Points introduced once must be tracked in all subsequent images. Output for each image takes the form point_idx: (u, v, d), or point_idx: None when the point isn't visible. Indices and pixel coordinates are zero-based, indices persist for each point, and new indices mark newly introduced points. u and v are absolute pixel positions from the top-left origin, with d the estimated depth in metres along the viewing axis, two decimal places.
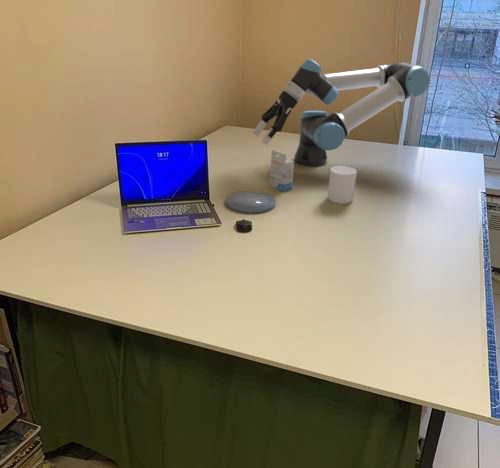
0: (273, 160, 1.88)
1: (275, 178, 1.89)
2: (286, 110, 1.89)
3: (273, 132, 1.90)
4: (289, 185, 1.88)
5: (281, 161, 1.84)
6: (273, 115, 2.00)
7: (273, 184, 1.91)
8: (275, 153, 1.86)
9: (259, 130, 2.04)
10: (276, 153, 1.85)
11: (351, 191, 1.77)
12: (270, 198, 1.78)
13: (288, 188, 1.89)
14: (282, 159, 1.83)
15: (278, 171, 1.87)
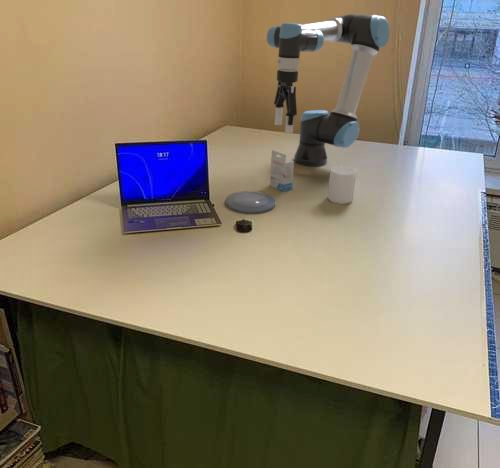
0: (273, 160, 1.88)
1: (275, 178, 1.89)
2: (290, 90, 1.69)
3: (291, 118, 1.72)
4: (289, 185, 1.88)
5: (281, 161, 1.84)
6: (283, 97, 1.81)
7: (273, 184, 1.91)
8: (275, 153, 1.86)
9: (279, 118, 1.87)
10: (276, 153, 1.85)
11: (351, 191, 1.77)
12: (270, 198, 1.78)
13: (288, 188, 1.89)
14: (282, 160, 1.83)
15: (278, 171, 1.87)
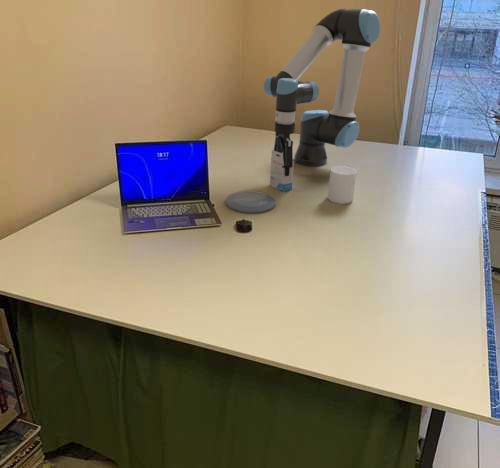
0: (273, 160, 1.88)
1: (275, 178, 1.89)
2: (288, 144, 1.77)
3: (287, 170, 1.82)
4: (289, 185, 1.88)
5: (281, 161, 1.84)
6: None
7: (273, 184, 1.91)
8: (275, 153, 1.86)
9: None
10: (276, 153, 1.85)
11: (351, 191, 1.77)
12: (270, 198, 1.78)
13: (288, 188, 1.89)
14: (282, 159, 1.83)
15: (278, 171, 1.87)
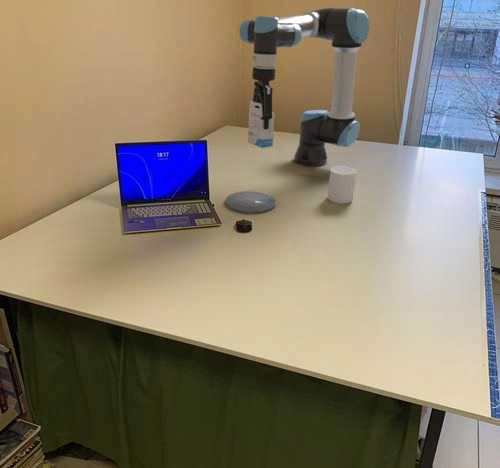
0: (251, 112, 1.66)
1: (253, 133, 1.68)
2: (266, 91, 1.56)
3: (266, 122, 1.61)
4: (269, 141, 1.67)
5: (260, 112, 1.63)
6: None
7: (251, 140, 1.70)
8: (253, 104, 1.64)
9: None
10: (254, 104, 1.64)
11: (351, 191, 1.77)
12: (270, 198, 1.78)
13: (268, 144, 1.67)
14: (261, 111, 1.62)
15: (256, 125, 1.65)
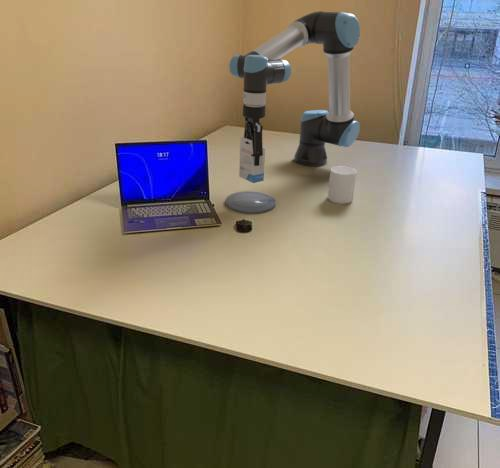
0: (242, 148, 1.67)
1: (244, 168, 1.69)
2: (256, 129, 1.57)
3: (257, 159, 1.62)
4: (260, 176, 1.68)
5: (250, 149, 1.64)
6: None
7: (242, 175, 1.71)
8: (244, 140, 1.65)
9: None
10: (245, 140, 1.65)
11: (351, 191, 1.77)
12: (270, 198, 1.78)
13: (259, 179, 1.69)
14: (252, 147, 1.63)
15: (247, 160, 1.67)
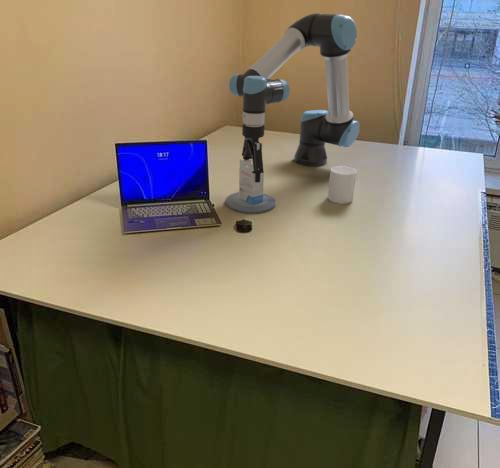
0: (241, 170, 1.71)
1: (244, 189, 1.73)
2: (256, 147, 1.60)
3: (257, 176, 1.63)
4: (259, 198, 1.72)
5: (249, 172, 1.68)
6: None
7: (242, 196, 1.75)
8: (243, 163, 1.69)
9: None
10: (244, 163, 1.69)
11: (351, 191, 1.77)
12: (270, 198, 1.78)
13: (258, 201, 1.72)
14: (251, 170, 1.67)
15: (246, 183, 1.70)
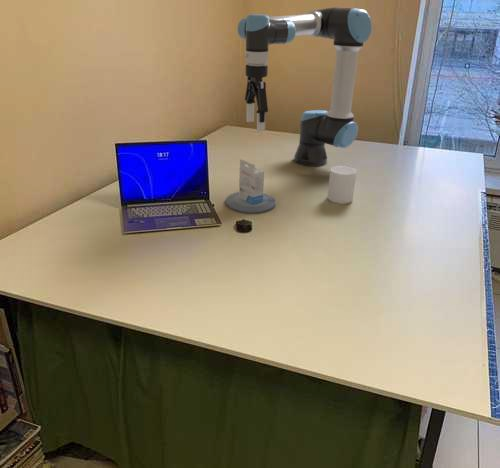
0: (241, 170, 1.71)
1: (244, 189, 1.73)
2: (260, 85, 1.61)
3: (262, 116, 1.64)
4: (259, 198, 1.72)
5: (250, 171, 1.68)
6: (254, 93, 1.72)
7: (242, 196, 1.75)
8: (243, 163, 1.69)
9: (251, 115, 1.78)
10: (244, 163, 1.69)
11: (351, 191, 1.77)
12: (270, 198, 1.78)
13: (258, 201, 1.72)
14: (251, 170, 1.67)
15: (247, 183, 1.70)
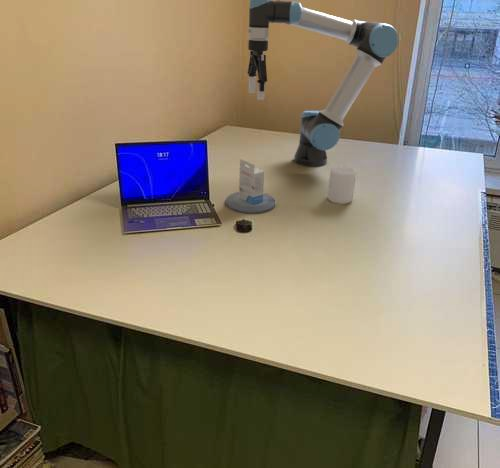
0: (241, 170, 1.71)
1: (244, 189, 1.73)
2: (261, 58, 1.81)
3: (262, 85, 1.84)
4: (259, 198, 1.72)
5: (250, 171, 1.68)
6: (255, 66, 1.92)
7: (242, 196, 1.75)
8: (243, 163, 1.69)
9: (253, 87, 1.98)
10: (244, 163, 1.69)
11: (351, 191, 1.77)
12: (270, 198, 1.78)
13: (258, 201, 1.72)
14: (251, 170, 1.67)
15: (247, 183, 1.70)
